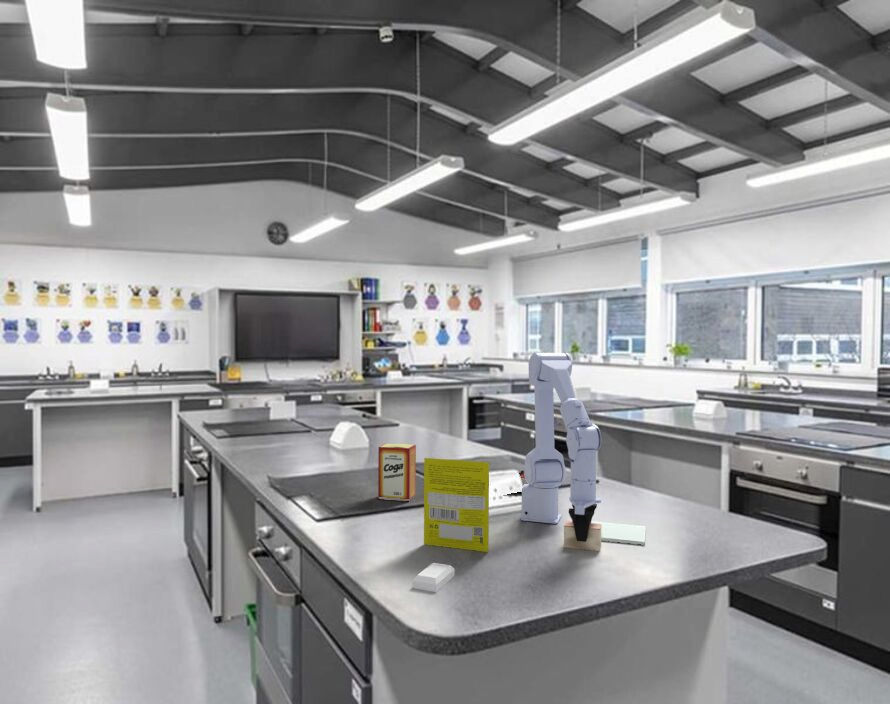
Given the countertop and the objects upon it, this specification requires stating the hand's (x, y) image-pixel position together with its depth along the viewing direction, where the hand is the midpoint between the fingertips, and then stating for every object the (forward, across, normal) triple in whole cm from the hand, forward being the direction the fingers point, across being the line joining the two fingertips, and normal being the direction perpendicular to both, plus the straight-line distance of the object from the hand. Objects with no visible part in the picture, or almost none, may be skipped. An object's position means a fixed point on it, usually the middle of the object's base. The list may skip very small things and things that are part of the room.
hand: (582, 538), depth 143 cm
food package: (+2, -11, +27) cm, 29 cm away
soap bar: (+3, -31, +25) cm, 40 cm away
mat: (+2, +12, -6) cm, 14 cm away
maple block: (+2, 0, 0) cm, 2 cm away
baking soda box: (+2, +26, +57) cm, 63 cm away
